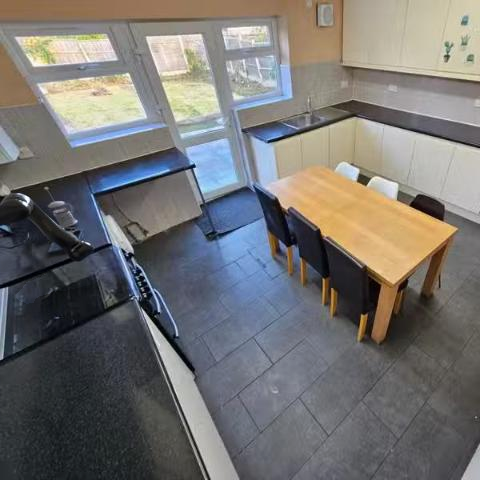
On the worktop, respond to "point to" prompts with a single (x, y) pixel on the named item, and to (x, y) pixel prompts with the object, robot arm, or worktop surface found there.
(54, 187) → the worktop surface
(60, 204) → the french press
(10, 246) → the worktop surface
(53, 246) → the tray
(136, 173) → the worktop surface
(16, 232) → the worktop surface
